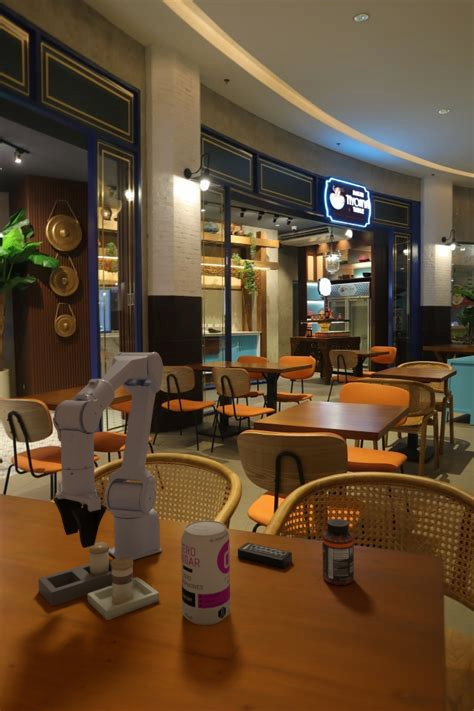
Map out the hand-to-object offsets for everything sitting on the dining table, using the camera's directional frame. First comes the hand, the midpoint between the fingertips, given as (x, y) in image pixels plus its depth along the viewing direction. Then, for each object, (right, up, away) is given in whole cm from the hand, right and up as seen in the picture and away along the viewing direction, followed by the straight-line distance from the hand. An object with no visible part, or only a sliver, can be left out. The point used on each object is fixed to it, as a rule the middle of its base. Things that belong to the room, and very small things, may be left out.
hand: (79, 539), depth 98 cm
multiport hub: (+35, -10, +15) cm, 39 cm away
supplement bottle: (+48, -10, +6) cm, 50 cm away
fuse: (+2, -10, +6) cm, 12 cm away
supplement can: (+24, -11, -6) cm, 27 cm away
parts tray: (+8, -10, -2) cm, 13 cm away
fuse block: (-1, -10, +4) cm, 11 cm away
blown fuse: (+8, -10, -2) cm, 13 cm away
